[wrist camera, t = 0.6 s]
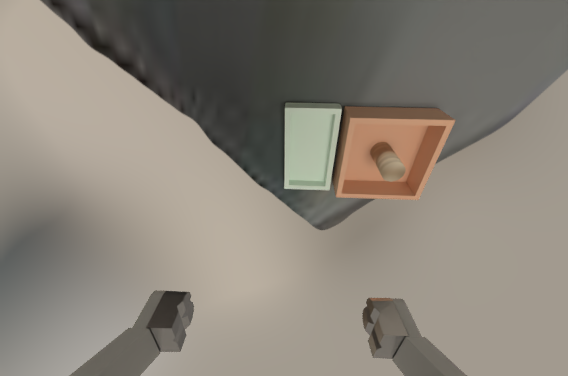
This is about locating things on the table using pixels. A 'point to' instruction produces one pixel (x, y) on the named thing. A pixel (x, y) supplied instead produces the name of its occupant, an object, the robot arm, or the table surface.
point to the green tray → (310, 144)
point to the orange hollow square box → (403, 140)
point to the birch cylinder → (387, 162)
